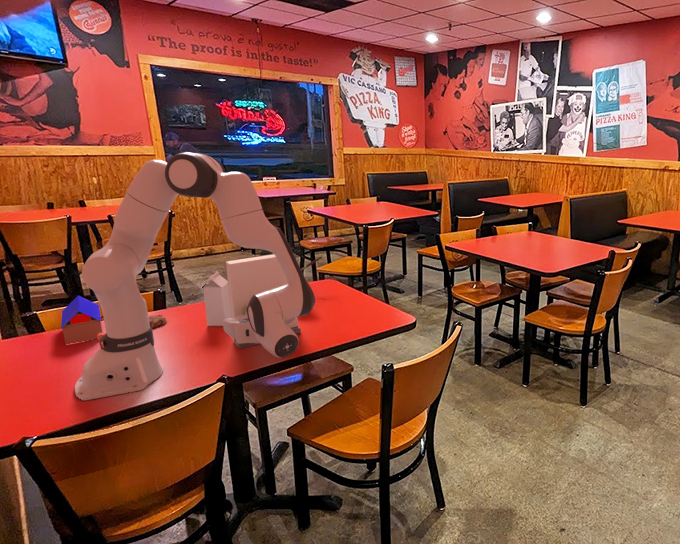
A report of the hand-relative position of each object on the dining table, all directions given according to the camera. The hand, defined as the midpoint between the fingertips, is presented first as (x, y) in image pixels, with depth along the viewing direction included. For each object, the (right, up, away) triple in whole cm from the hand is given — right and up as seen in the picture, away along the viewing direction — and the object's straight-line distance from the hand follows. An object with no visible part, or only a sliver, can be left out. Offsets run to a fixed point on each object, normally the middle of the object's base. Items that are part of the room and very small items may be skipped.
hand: (249, 313), depth 140 cm
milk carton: (-16, -6, +25) cm, 30 cm away
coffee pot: (+12, +4, +57) cm, 59 cm away
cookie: (-42, -7, +25) cm, 49 cm away
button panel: (+4, -9, +11) cm, 15 cm away
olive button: (-1, -2, +2) cm, 2 cm away
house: (-64, -9, +19) cm, 67 cm away
